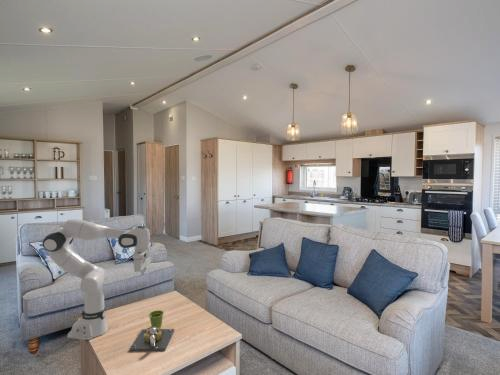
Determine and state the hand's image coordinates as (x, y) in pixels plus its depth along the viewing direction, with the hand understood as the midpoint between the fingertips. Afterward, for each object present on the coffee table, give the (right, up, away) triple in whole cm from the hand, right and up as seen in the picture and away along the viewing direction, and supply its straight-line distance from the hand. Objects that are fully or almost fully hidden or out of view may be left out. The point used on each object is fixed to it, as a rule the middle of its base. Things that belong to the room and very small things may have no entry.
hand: (143, 274), depth 180 cm
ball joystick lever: (+9, -36, -10) cm, 38 cm away
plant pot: (+5, -37, +9) cm, 38 cm away
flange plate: (+8, -37, -7) cm, 39 cm away
